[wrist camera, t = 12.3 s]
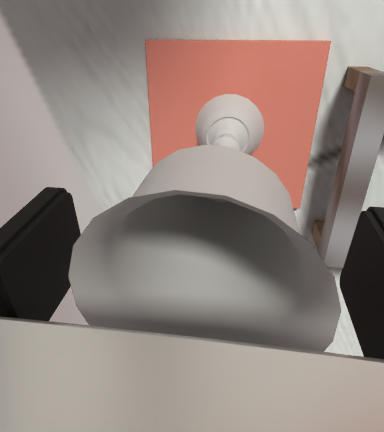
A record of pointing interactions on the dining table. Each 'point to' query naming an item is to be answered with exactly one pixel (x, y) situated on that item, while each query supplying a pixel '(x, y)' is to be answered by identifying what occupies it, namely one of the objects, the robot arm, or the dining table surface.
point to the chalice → (208, 247)
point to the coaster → (244, 86)
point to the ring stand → (353, 165)
